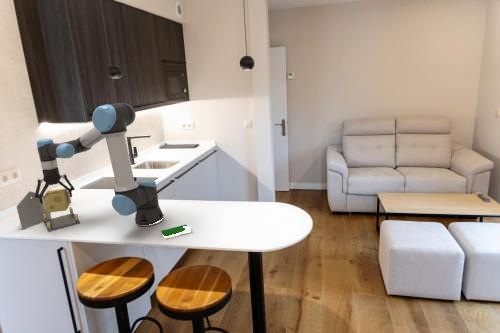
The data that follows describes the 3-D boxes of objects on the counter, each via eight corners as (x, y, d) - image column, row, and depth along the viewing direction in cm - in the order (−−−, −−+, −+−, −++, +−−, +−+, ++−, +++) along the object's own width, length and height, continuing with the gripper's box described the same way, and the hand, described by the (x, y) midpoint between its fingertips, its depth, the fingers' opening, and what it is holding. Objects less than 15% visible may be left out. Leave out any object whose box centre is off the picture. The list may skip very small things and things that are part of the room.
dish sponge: (161, 234, 171) (160, 230, 170) (188, 228, 177) (187, 223, 176) (164, 240, 164) (164, 235, 164) (192, 233, 170) (191, 228, 170)
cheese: (45, 213, 182) (42, 196, 179) (50, 206, 192) (47, 190, 189) (67, 210, 185) (63, 193, 182) (71, 203, 195) (67, 187, 192)
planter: (43, 216, 202) (36, 185, 197) (51, 218, 198) (44, 186, 193) (14, 227, 188) (6, 194, 183) (22, 229, 184) (14, 196, 179)
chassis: (80, 223, 189) (78, 214, 187) (48, 232, 180) (46, 223, 178) (73, 214, 201) (72, 206, 200) (43, 222, 192) (41, 214, 191)
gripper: (73, 162, 192) (79, 198, 198) (22, 171, 178) (31, 209, 184) (76, 164, 186) (82, 201, 192) (24, 173, 172) (33, 213, 178)
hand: (57, 205), depth 188 cm, fingers closed on cheese, 12 cm apart
